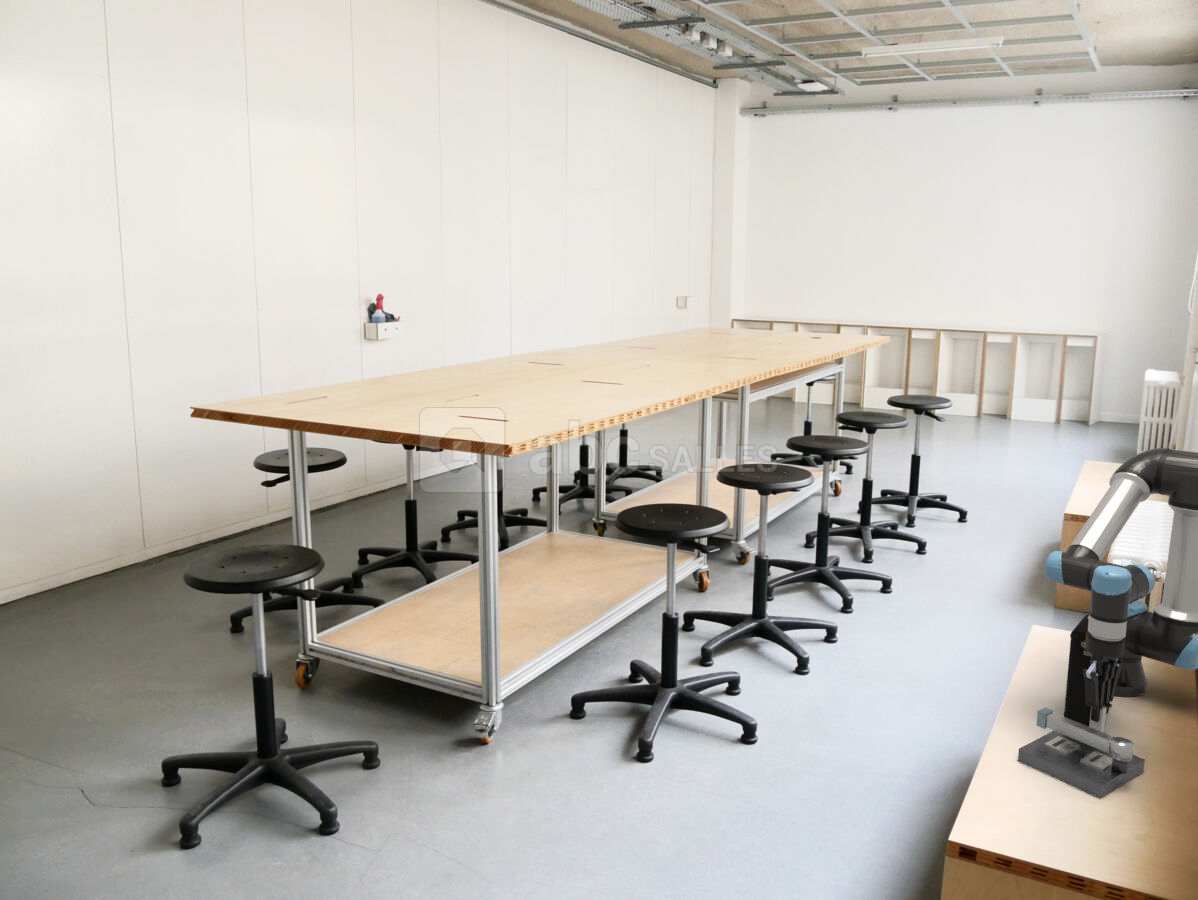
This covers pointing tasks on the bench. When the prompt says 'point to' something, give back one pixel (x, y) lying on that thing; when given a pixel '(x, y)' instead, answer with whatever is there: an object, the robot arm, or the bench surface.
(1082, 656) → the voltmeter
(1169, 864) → the bench surface
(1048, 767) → the grey slotted box
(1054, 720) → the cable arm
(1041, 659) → the bench surface
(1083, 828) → the bench surface
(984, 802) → the bench surface
